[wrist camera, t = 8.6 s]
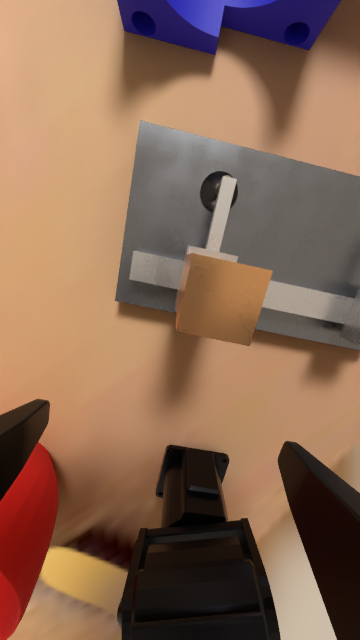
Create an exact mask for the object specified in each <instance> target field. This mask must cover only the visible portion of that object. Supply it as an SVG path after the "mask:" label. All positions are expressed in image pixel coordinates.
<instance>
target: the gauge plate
mask: <svg viewBox="0 0 360 640" xmlns="http://www.w3.org/2000/svg"><path fill="white" fill-rule="evenodd" d="M226 175H229V176H231V177H232V178H234V179H237V181H236V185H235V189H234V193H233V197H232V201H231V206H230V210H229V214H228V218H227V222H226V226H225V230H224V234H223V238H222V242H221V246H220V250H219V252H221V253H225V254H230V255H234V256H238V259H237V263H240V264H245V265H249V266H254V267H258V268H263V269H267V270H272V271H273V273H272V276H271V279H270V282H269V285H268V289H267V292H266V295H265V298H264V302H263V305H262V308H261V311H260V314H259V318H258V321H257V324H256V327H255V329H257V330H262V331H267V332H272V333H277V334H282V335H287V336H292V337H297V338H302V339H307V340H312V341H317V342H322V343H326V344H331V345H336V346H341V347H346V348H351V349H356V350H360V177H359V176H355V175H352V174H348V173H344V172H340V171H336V170H332V169H328V168H324V167H320V166H316V165H313V164H309V163H305V162H301V161H297V160H293V159H289V158H285V157H281V156H277V155H274V154H270V153H266V152H262V151H258V150H254V149H250V148H246V147H242V146H238V145H235V144H231V143H227V142H223V141H219V140H215V139H211V138H207V137H203V136H199V135H196V134H192V133H188V132H184V131H180V130H176V129H172V128H168V127H164V126H160V125H157V124H153V123H149V122H145V121H141V120H140V125H139V132H138V139H137V147H136V154H135V161H134V168H133V175H132V183H131V190H130V197H129V204H128V211H127V219H126V226H125V233H124V240H123V247H122V255H121V262H120V269H119V276H118V283H117V291H116V298H115V301H118V302H123V303H128V304H133V305H138V306H143V307H148V308H153V309H158V310H163V311H168V312H173V313H176V311H175V301H176V296H177V291H178V286H179V282H180V277H181V272H182V267H183V262H184V258H185V253H186V248H187V246H188V245H189V246H194V247H198V248H203V249H205V246H206V241H207V237H208V233H209V228H210V224H211V219H212V215H213V211H214V206H215V202H216V198H217V194H216V188H217V186H218V185H219V183H220V180H221V179H222V177H223V176H226Z"/></svg>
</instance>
